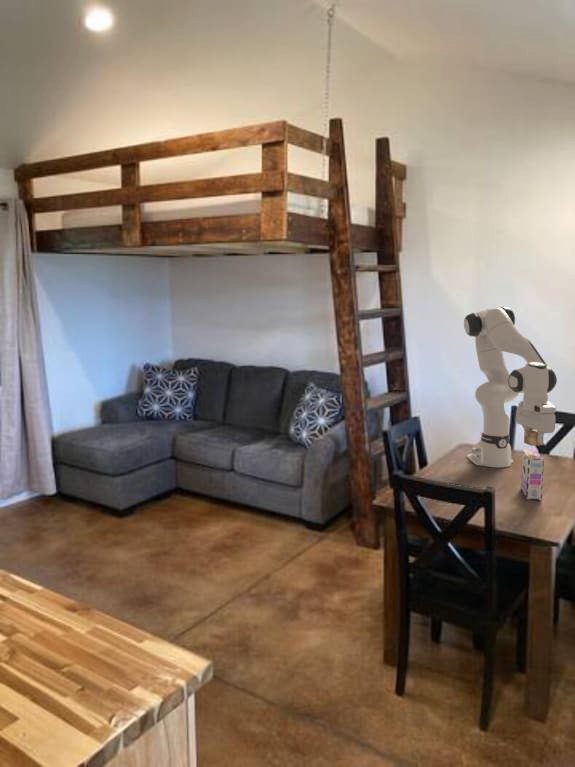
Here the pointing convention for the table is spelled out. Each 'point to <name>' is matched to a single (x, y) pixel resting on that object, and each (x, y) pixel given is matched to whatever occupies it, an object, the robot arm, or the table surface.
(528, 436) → the maple cube
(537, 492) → the candy box
